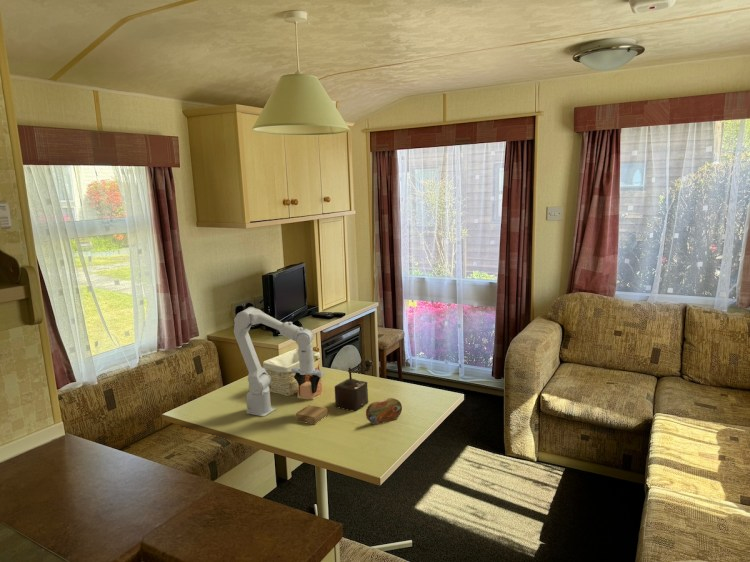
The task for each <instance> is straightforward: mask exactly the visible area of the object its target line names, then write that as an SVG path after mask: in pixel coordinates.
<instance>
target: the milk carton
mask: <svg viewBox="0 0 750 562" xmlns="http://www.w3.org/2000/svg"><path fill="white" fill-rule="evenodd" d="M318 357H319V356H316V355H313V359H314V369H317V370H320V371H321V366H320V367H319V361H318ZM310 377H312V375H305V382H306V381H307V382H310V380H309V378H310ZM317 393H318V395H316V396H315V397H313V398H312V399H311V400H315V399H317V398H319V397H321V396H322V395H321V394H323V382H322V377H321V378H320V380H319V382H318V386H317ZM320 395H321V396H320ZM297 399H302V397H301V396H300V387H299V384H298V392H297ZM303 399H304V400H309V399H308V398H303ZM303 399H302V400H303Z"/></svg>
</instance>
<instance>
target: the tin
mask: <svg viewBox="0 0 750 562" xmlns="http://www.w3.org/2000/svg"><path fill="white" fill-rule="evenodd" d="M402 409H403V406H402V403H401V402H400V400H398V399H396V398H393V397H389V398H385V399H382V400H377V401H374V402H371V403H370V404H368V406H367V407H366V410H365V418H366V419H367V421H369V422H370V423H371V424H372V425H375V424H377V425H380V424H379V423H381V424H384V423H388V422H391V421H394V419H395V420H396V419H398V418H399V417H400V415H401V413H402V412H403V411H402ZM387 421H388V422H387ZM383 422H384V423H383Z"/></svg>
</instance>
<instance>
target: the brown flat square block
mask: <svg viewBox="0 0 750 562" xmlns="http://www.w3.org/2000/svg"><path fill="white" fill-rule="evenodd" d="M326 415H327V416H328V408H327V407H321V406H316V405H311V404H308V405H307V406H305V407H303V408H302V409H300V410H299V411H297V412H295V421H296V422H300V421H301V423H305V422H307V423H306V424H310V423H312V424H311V425H317V424H318V423H319V422H320V421H322V420H323V419H325V418H326V417H327V416H326ZM325 416H326V417H325ZM324 417H325V418H324ZM322 418H323V419H322ZM321 419H322V420H321ZM318 421H319V422H318ZM317 422H318V423H317Z"/></svg>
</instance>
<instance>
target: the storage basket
mask: <svg viewBox="0 0 750 562" xmlns="http://www.w3.org/2000/svg"><path fill="white" fill-rule="evenodd" d="M313 355H316V356H319V357H318V361H319V367H320V368H321V353H320V352H319V351H315V350H313ZM294 367H296V368H300V363H299V348H295V349H291V350H289V351H287V352H284V353H281V354H280V355H277V356H274V357H271V358H269V359H266V360H264V361H263V362H262V368H264V369H265V370H266V372H267V374H268V375H269V376H270V378H271V383H270V385H269V391H270V393H275V394H278V395H281V396H286V397H291V396H293V395H294V396H295V394H298V382H297V381H296V379H295V378H294V376H295V375H296V373H291V369H292V368H294Z"/></svg>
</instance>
